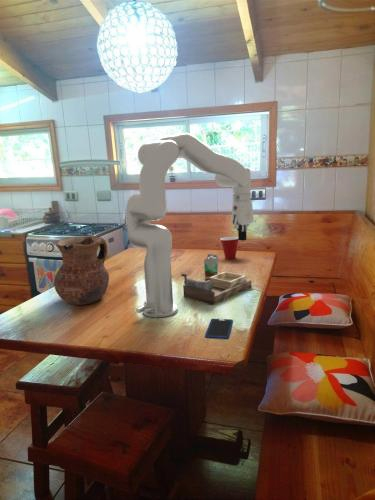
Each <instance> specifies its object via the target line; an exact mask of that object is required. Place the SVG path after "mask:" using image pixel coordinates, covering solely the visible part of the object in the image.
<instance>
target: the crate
mask: <svg viewBox="0 0 375 500" xmlns="http://www.w3.org/2000/svg"><path fill="white" fill-rule="evenodd" d="M209 279H210V283H211V284H212V285H213V286H214V287H219V288H223V289H229V288H232V287H234V286H236V285H238V284H241V283H243V282H245V281H247V275H244V274H241V273H234V272H230V271H223V272H220V273H217V275H215V276H212V277H210V278H209Z"/></svg>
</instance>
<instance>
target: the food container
mask: <svg viewBox="0 0 375 500" xmlns="http://www.w3.org/2000/svg"><path fill="white" fill-rule="evenodd" d="M219 262H220V258H219V256H218V254H213V253H207V257H206V258H205V259H203V265H204V266H203V267H204V280H205V281H208V280H210V279H209V278H210V277H212V276H215V275H218V270H219V269H218V267H219V265H218V264H219Z"/></svg>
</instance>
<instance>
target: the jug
mask: <svg viewBox="0 0 375 500" xmlns="http://www.w3.org/2000/svg"><path fill="white" fill-rule="evenodd" d="M54 245H55V247H56V248H57V249H58V250H59V252H60V254H61V257H62V265H61V266H60V268H59V269H58V270H57V272H56V274H55V276H54V280H53V281H54V283H53V284H54V290H55V292H56V294H57V295H58V296H59V298H61V300H62V301H64V302H65V303H67V304H70V305H74V306H85V305H89V304H93V303H95V302H97V301H99V300H100V299H102V298H103V297H104V295H106V292H107V289H108V286H109V281H110V280H109V279H110V275H109V271H108V270H107V268H106V267H105V260H106V257H107V253H108V246H107V243H106V240H105V239H104V238H102V237H100V236H96V235H91V236H80V237H64V238H59V239H57V240H56V241H55V244H54ZM98 250H99V252H98ZM97 254H98V255H97Z"/></svg>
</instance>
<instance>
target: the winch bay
mask: <svg viewBox="0 0 375 500" xmlns="http://www.w3.org/2000/svg"><path fill="white" fill-rule="evenodd" d="M187 275H188V274H186V273H181V277H184V280H183V283H184V284H182V285H183V286H182V287H183V297H184V298H186V299H189V300H193V301H196V302H200V303H204V304H208V305H210V306H214V305H216V304H218V303H220V302H222V301H226V300H227V299H229V298H231V297H233V296H235V295H238V294H240V293H241V292H245V291H246V290H249V289H251V288H252V280H251V279H248V280H246V281H245V282H243V283H241V284H238V285H236V286H234V287H232V288H229V289H223V288H219V287H214V286H213V285H212V284H211V283H210V280H205V281H202V280H196V279H193V278H190V277H189V278H188V277H187Z"/></svg>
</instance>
